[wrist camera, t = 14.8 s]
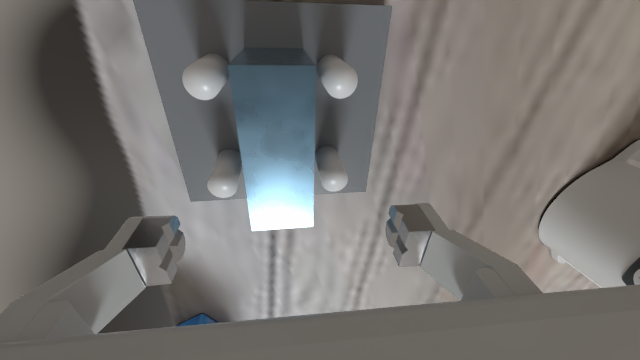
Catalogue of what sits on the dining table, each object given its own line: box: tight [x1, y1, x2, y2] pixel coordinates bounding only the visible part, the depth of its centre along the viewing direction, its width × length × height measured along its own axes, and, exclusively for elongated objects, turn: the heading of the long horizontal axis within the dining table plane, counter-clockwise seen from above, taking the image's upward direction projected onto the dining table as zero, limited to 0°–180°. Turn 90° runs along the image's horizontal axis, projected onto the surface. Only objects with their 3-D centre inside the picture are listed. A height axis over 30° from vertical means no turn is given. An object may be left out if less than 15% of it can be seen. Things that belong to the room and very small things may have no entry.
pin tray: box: [133, 0, 392, 202], centre depth 20 cm, size 16×15×6 cm
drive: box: [228, 47, 316, 231], centre depth 18 cm, size 4×10×7 cm, turn 178°
